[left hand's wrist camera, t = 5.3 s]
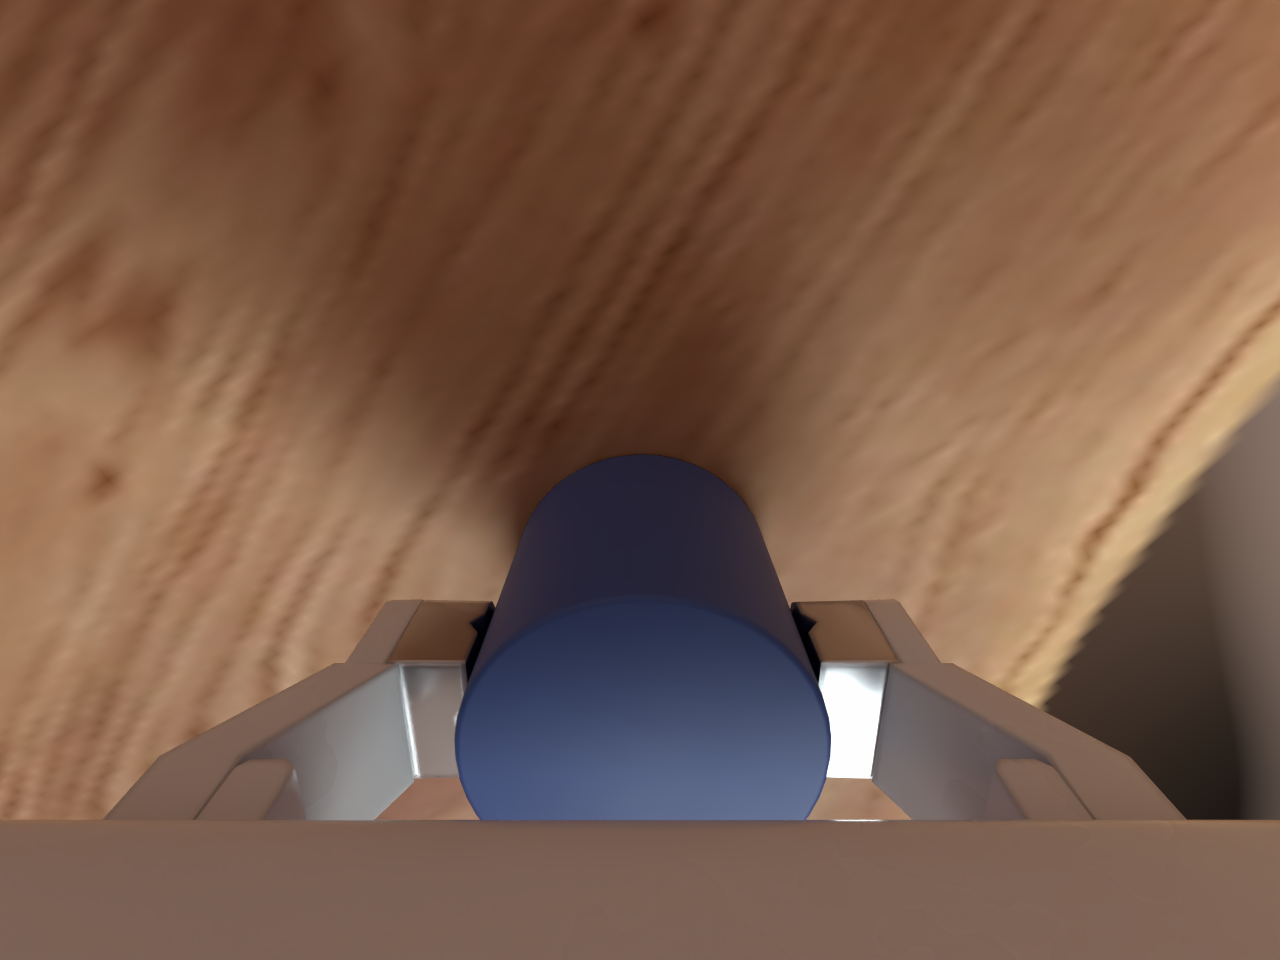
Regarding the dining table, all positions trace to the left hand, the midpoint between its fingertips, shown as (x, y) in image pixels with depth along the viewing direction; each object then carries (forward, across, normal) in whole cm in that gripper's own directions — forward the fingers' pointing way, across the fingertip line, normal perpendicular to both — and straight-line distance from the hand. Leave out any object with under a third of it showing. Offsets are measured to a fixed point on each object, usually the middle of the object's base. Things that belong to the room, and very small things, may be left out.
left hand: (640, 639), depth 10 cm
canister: (+2, 0, 0) cm, 2 cm away
